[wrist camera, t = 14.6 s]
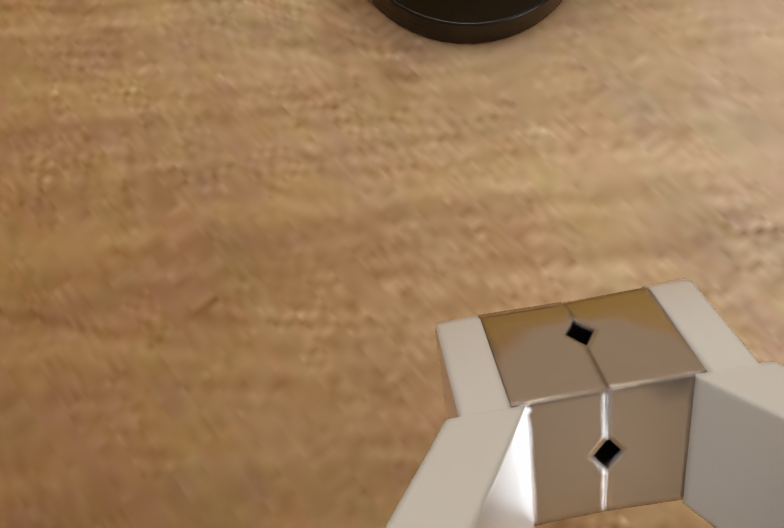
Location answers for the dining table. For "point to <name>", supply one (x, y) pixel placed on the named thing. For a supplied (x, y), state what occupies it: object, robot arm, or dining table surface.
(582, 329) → the robot arm
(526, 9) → the frame stand
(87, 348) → the dining table surface
